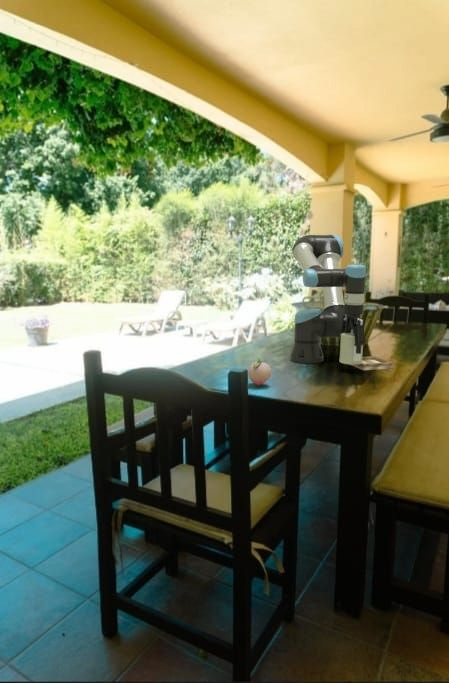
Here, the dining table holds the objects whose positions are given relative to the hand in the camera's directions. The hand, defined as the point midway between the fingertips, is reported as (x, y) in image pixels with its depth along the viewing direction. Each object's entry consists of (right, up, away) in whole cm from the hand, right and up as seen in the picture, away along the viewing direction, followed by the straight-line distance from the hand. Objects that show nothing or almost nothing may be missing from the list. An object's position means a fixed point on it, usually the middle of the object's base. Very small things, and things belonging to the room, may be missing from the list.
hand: (350, 358), depth 187 cm
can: (0, -2, 0) cm, 2 cm away
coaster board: (+11, -4, +11) cm, 16 cm away
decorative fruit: (-39, -10, -21) cm, 45 cm away
